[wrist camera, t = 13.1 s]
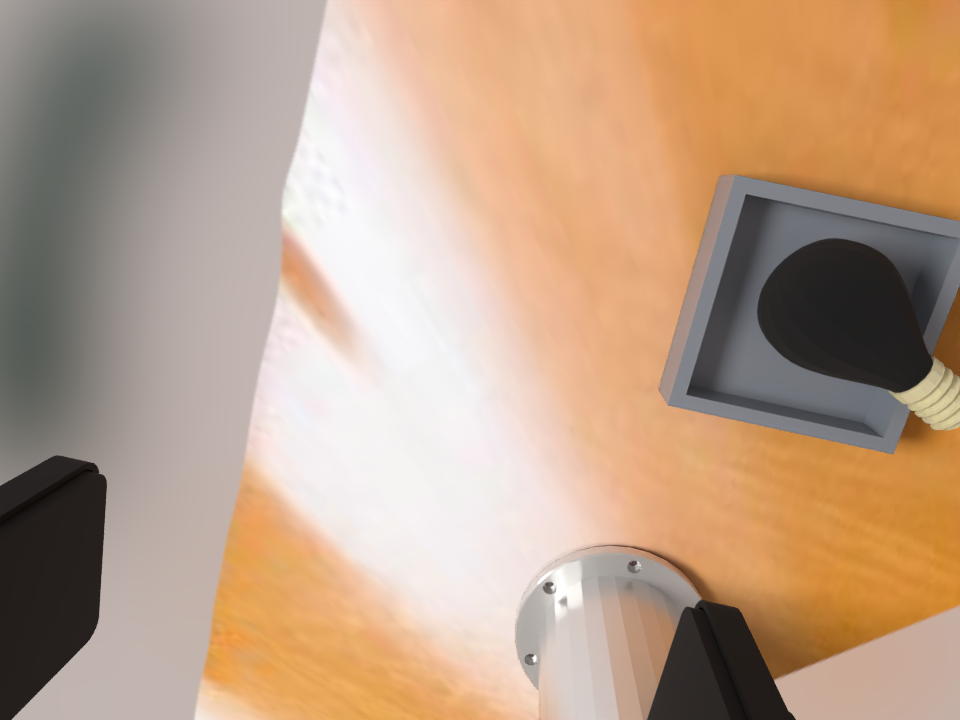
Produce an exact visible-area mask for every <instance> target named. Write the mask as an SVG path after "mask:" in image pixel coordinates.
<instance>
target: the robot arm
mask: <svg viewBox="0 0 960 720" xmlns="http://www.w3.org/2000/svg"><path fill="white" fill-rule="evenodd" d="M106 490H107V482H106V478H105V476H104V475H101V474H99V470H98V468H97V466H96V465H95V464H94V463H90V462H86V461H82V460H77V459H73V458H68V457H64V456H54V457H51V458H49V459H48V460H46V461H44V462H42V463H40V464H39V465H37V466H35V467H33V468H31V469H30V470H28V471H26V472H24V473H22V474H21V475H19V476H17V477H15V478H14V479H12V480H10V481H8V482H6V483H5V484H3V485H1V486H0V720H12V718H13V717H14V716H15V715H16V714H17V713H18V712H19V711H20V710H21V709H22V708H23V707H24V706H25V705H26V704H27V703H28V702H29V701H30V700H31V699H32V698H33V697H34V696H35V695H36V694H37V693H38V692H39V691H40V690H41V689H42V688H43V687H44V686H45V685H46V684H47V683H48V682H49V681H50V680H51V679H52V678H53V677H54V676H55V675H56V674H57V673H58V672H59V671H60V670H61V669H62V668H63V667H64V666H65V665H66V663H68V662H69V661H70V659H71V658H72V657H73V656H74V655H75V654H76V653H77V652H78V651H79V650H80V649H81V648H82V647H83V646H84V645H85V644H86V643H87V642H88V641H89V640H90V638H91V636H92V635H93V633H94V631H95V629H96V626H97V623H98V619H99V606H100V589H101V573H102V555H103V540H104V523H105V506H106ZM632 561H635V562H632ZM548 582H551V583H548ZM515 644H516V649H517V655H518V659H519V661H520V663H521V666H522V668H523V670H524V672H525V674H526V675H527V677H528V678H529V680H530V681H531V683H532V684H533V686H534V687H535V688H536V689H537V690H538V691H539V720H796V719H795V718H794V716H793V715H792V714H791V713H790V712H788V710H787V708H786V705H785V703H784V702H783V699H782V697H781V695H780V693H779V691H778V689H777V687H776V685H775V682H774V680H773V678H772V676H771V674H770V672H769V670H768V668H767V666H766V664H765V661H764V659H763V657H762V655H761V653H760V651H759V649H758V647H757V645H756V643H755V641H754V639H753V636H752V634H751V632H750V630H749V628H748V626H747V624H746V622H745V620H744V618H743V616H742V613H741V612H740V610H739V609H738V608H735V607H731V606H726V605H722V604H717V603H713V602H708V601H704V600H702V598H701V596H700V594H699V593H698V591H697V589H696V588H695V586H694V585H693V583H692V582H691V581H690V580H689V579H688V578H687V577H686V576H685V575H684V574H683V573H682V572H681V571H680V570H679V569H677V568H676V567H675V566H673V565H672V564H670V563H669V562H668V561H666V560H664V559H662V558H660V557H658V556H656V555H654V554H651V553H649V552H645V551H642V550H638V549H634V548H630V547H619V546H603V547H592V548H588V549H584V550H580V551H576V552H574V553H571V554H569V555H567V556H565V557H562V558H560V559H558V560H557V561H555V562H554V563H552V564H551V565H549V566H548V567H547V568H545V569H544V570H543V571H542V572H541V573H540V574H539V575H538V576H537V577H536V578H535V579H534V580H533V581H532V582H531V584H530V585H529V587H528V588H527V590H526V592H525V593H524V595H523V597H522V599H521V602H520V605H519V608H518V610H517V617H516V624H515Z"/></svg>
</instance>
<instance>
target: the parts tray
mask: <svg viewBox="0 0 960 720" xmlns="http://www.w3.org/2000/svg"><path fill="white" fill-rule="evenodd" d="M828 238H840V239H847V240H851V241H855V242H859V243H862V244H865V245H868V246H870V247H872V248H874V249H876V250H877V251H879V252H881V253H882V254H883V255H885V256H886V257H887V258H888V259H889V260H890V261H891V262H892V263H893V264H894V266H895V267H896V269H897V270H898V272H899V273H900V275H901V277H902V279H903V281H904V283H905V285H906V288H907V290H908V292H909V295H910V298H911V301H912V304H913V307H914V310H915V313H916V316H917V320H918V323H919V326H920V330H921V333H922V336H923V339H924V342H925V345H926V348H927V350H928V353H929V354H930V355H933V352H934V349H935V347H936V344H937V342H938V339H939V337H940V334H941V332H942V329H943V327H944V324H945V322H946V319H947V316H948V314H949V311H950V309H951V306H952V304H953V301H954V299H955V296H956V294H957V291H958V289H959V286H960V221H955V220H951V219H946V218H941V217H936V216H931V215H927V214H922V213H917V212H912V211H907V210H902V209H898V208H893V207H888V206H883V205H878V204H873V203H869V202H864V201H859V200H854V199H849V198H845V197H840V196H835V195H830V194H825V193H820V192H816V191H811V190H806V189H801V188H796V187H791V186H787V185H782V184H777V183H772V182H767V181H763V180H758V179H753V178H748V177H743V176H738V175H722V176H719V180H718V183H717V187H716V190H715V194H714V197H713V201H712V204H711V208H710V211H709V215H708V218H707V222H706V225H705V229H704V232H703V236H702V239H701V243H700V246H699V250H698V253H697V257H696V260H695V264H694V267H693V271H692V274H691V278H690V281H689V285H688V288H687V292H686V295H685V299H684V302H683V306H682V309H681V313H680V316H679V320H678V323H677V327H676V330H675V334H674V337H673V341H672V344H671V348H670V351H669V355H668V358H667V362H666V365H665V369H664V372H663V376H662V379H661V383H660V386H659V391H660V393H661V395H662V396H663V398H664V400H665V401H666V403H667V405H668V406H673V407H678V408H682V409H687V410H692V411H696V412H701V413H705V414H710V415H715V416H719V417H724V418H728V419H733V420H738V421H742V422H747V423H751V424H756V425H761V426H765V427H770V428H774V429H779V430H784V431H788V432H793V433H797V434H802V435H807V436H811V437H816V438H820V439H825V440H830V441H834V442H839V443H843V444H848V445H853V446H857V447H862V448H866V449H871V450H876V451H880V452H885V453H889V454H894V451H895V449H896V446H897V443H898V441H899V438H900V436H901V433H902V431H903V428H904V426H905V423H906V421H907V418H908V416H909V413H910V409H908V406H907V404H903V403H901V402H900V401H899V400H897V399H896V398H895V397H894V396H893V395H891V394H890V393H889V392H888V390H887V389H883V388H880V387H876V386H871V385H867V384H862V383H857V382H852V381H848V380H843V379H839V378H834V377H830V376H826V375H822V374H819V373H816V372H813V371H810V370H807V369H804V368H802V367H800V366H798V365H796V364H794V363H791V362H790V361H789V360H787V359H786V358H784V357H783V356H782V355H781V354H779V353H778V352H777V351H776V349H775V348H774V347H773V346H772V345H771V344H770V343H769V342H768V340H767V339H766V338H765V336H764V334H763V333H762V331H761V328H760V326H759V322H758V318H757V307H758V300H759V296H760V293H761V290H762V288H763V286H764V284H765V282H766V281H767V279H768V277H769V275H770V274H771V273H772V272H773V270H774V269H775V268H776V267H777V266H778V265H779V264H780V263H781V262H782V261H783V260H784V259H785V258H787V257H788V256H789V255H790V254H792V253H793V252H795V251H796V250H798V249H800V248H801V247H803V246H806V245H808V244H811V243H813V242H816V241H819V240H823V239H828Z"/></svg>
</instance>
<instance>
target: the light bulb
mask: <svg viewBox="0 0 960 720" xmlns="http://www.w3.org/2000/svg"><path fill="white" fill-rule="evenodd" d="M757 318H758V322H759V326H760V328H761V331H762V333H763V334H764V336H765V338H766V339H767V340H768V342H769V343H770V344H771V345H772V346H773V347H774V348H775V349H776V351H777V352H778V353H779V354H781V355H782V356H783V357H784V358H786V359H787V360H789V361H790V362H791V363H794V364H796V365H798V366H800V367H802V368H804V369H807V370H810V371H813V372H816V373H819V374H822V375H826V376H830V377H834V378H839V379H843V380H848V381H852V382H857V383H862V384H867V385H871V386H876V387H880V388H883V389H887V390H888V392H889V393H890V394H891V395H893V396H894V397H895V398H896V399H897V400H899V401H900V402H901V403H903V404H907V406H908V409H910V410H911V411H915V414H916V415H917V416H918V417H922V420H923V421H924V422H925V423H929V424H930V427H931V428H932V429H934V430H951V429H955V428H958V427H960V378H959V376H958V375H956V374H954V373H952V370H951V369H949V368H947V367H944V364H943V363H942V362H940V361H939V360H938V359H937V358H935V357H934V356H932V355H930V354H929V353H928V350H927V348H926V345H925V342H924V339H923V336H922V333H921V330H920V326H919V323H918V320H917V316H916V313H915V310H914V307H913V304H912V301H911V298H910V295H909V292H908V290H907V288H906V285H905V283H904V281H903V279H902V277H901V275H900V273H899V272H898V270H897V269H896V267H895V266H894V264H893V263H892V262H891V261H890V260H889V259H888V258H887V257H886V256H885V255H883V254H882V253H881V252H879V251H877V250H876V249H874V248H872V247H870V246H868V245H865V244H862V243H859V242H855V241H851V240H847V239H840V238H828V239H823V240H819V241H816V242H813V243H811V244H808V245H806V246H803V247H801V248H800V249H798V250H796V251H795V252H793V253H792V254H790V255H789V256H788V257H787V258H785V259H784V260H783V261H782V262H781V263H780V264H779V265H778V266H777V267H776V268H775V269H774V270H773V272H772V273H771V274H770V275H769V277H768V279H767V281H766V282H765V284H764V286H763V288H762V290H761V293H760V296H759V300H758V307H757Z"/></svg>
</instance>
